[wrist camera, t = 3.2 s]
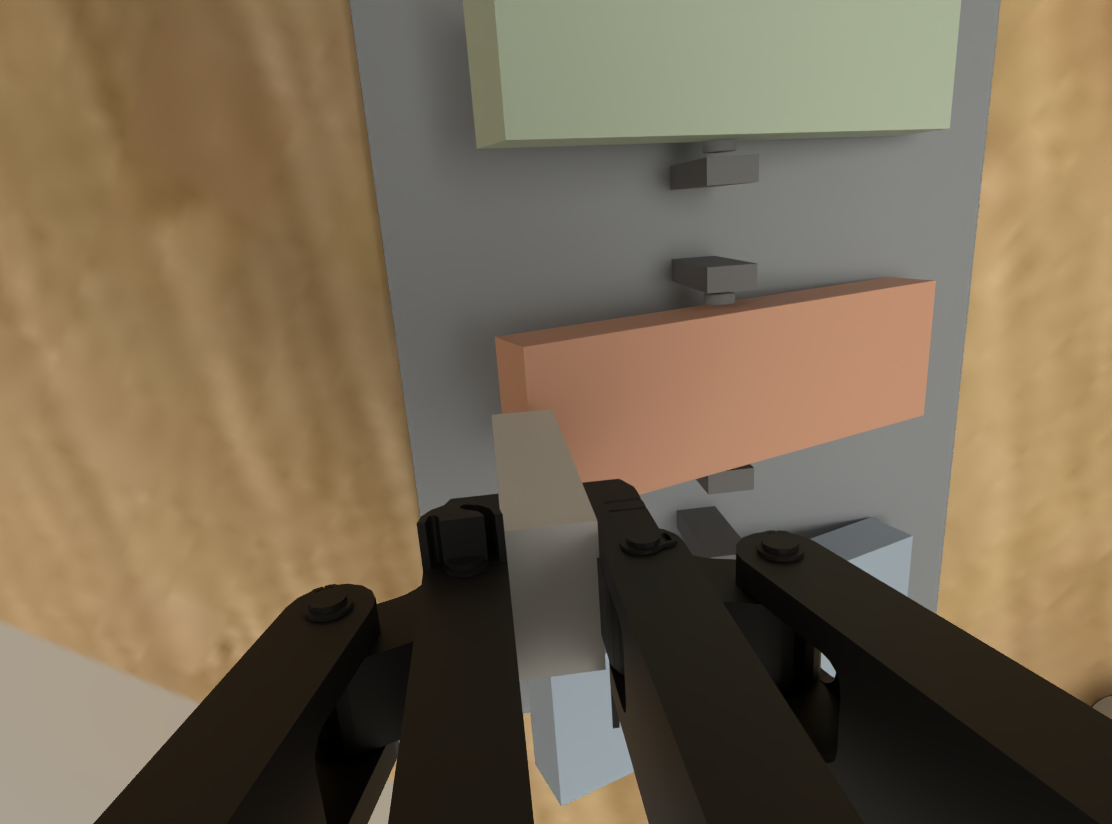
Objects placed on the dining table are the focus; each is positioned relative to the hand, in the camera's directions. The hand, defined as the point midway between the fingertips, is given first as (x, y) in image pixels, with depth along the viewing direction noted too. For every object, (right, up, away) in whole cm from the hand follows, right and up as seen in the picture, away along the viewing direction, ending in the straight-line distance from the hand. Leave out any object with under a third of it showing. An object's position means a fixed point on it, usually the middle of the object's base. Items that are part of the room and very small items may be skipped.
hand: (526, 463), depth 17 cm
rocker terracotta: (+6, +2, +6) cm, 9 cm away
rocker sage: (+6, +12, +3) cm, 14 cm away
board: (+6, +4, +10) cm, 12 cm away
